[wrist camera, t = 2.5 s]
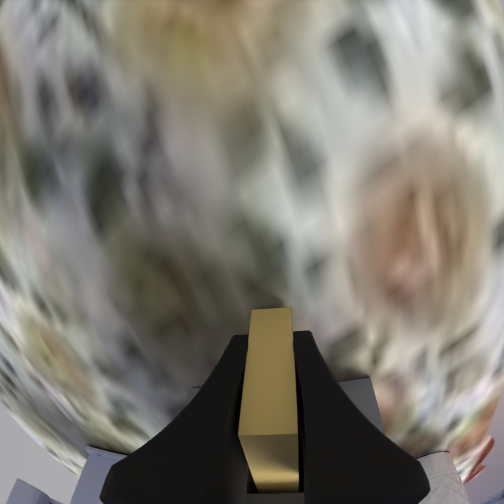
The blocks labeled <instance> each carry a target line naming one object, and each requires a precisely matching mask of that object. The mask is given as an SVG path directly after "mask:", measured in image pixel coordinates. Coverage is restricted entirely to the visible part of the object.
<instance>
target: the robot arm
mask: <svg viewBox="0 0 504 504" xmlns="http://www.w3.org/2000/svg"><path fill="white" fill-rule="evenodd" d="M248 339H249V335H234V336H233V337H232V338H231V340H230V342H229V344H228V346H227V348H226V350H225V352H224V353H223V355H222V357H221V359H220V360H219V362H218V364H217V365H216V367H215V368H214V370H213V371H212V373H211V375H210V376H209V378H208V379H207V380H206V382H205V383H204V384H203V386H202V387H201V389H200V390H199V391H198V393H197V394H196V395H195V396H194V398H193V399H192V400H191V401H190V402H189V404H188V405H187V406H186V407H185V408H184V409H183V410H182V411H181V413H180V414H179V415H178V416H177V417H176V418H175V419H174V420H173V421H171V422H170V423H169V424H168V425H167V426H166V427H165V428H164V429H163V430H162V431H161V432H159V433H158V434H157V435H156V436H155V437H153V438H152V439H151V440H149V441H148V442H147V443H146V444H144V445H143V446H142V447H140V448H139V449H137V450H136V451H134V452H133V453H131V454H130V455H128V456H127V455H122V454H117V453H113V452H109V451H105V450H101V449H97V448H93V447H89V446H86V449H85V450H86V451H87V452H88V453H89V456H88V458H87V461H86V463H85V466H84V468H83V471H82V473H81V476H80V478H79V481H78V484H77V486H76V489H75V491H74V494H73V496H72V499H71V503H70V504H246V489H247V464H248V462H247V460H246V457H245V454H244V451H243V448H242V445H241V442H240V439H239V437H238V430H239V421H240V412H241V403H242V394H243V385H244V376H245V367H246V358H247V351H248V344H249V343H248ZM293 350H294V361H295V379H296V400H297V409H298V415H299V422H300V429H301V436H302V443H303V459H304V504H418V503H420V502H421V501H422V500H423V499H424V498H425V497H426V496H427V495H428V494H429V492H430V491H431V489H430V483H429V480H428V477H427V475H426V473H425V470H424V468H423V467H422V465H421V463H420V461H418V460H417V459H415V458H414V457H412V456H411V455H409V454H408V453H407V452H405V451H404V450H403V449H401V448H400V447H399V446H397V445H396V444H395V443H394V442H392V441H391V440H390V439H389V438H388V437H386V436H385V435H384V434H383V433H382V432H381V431H380V430H379V429H378V428H377V427H376V426H375V425H374V424H372V423H371V422H370V421H369V420H368V419H367V418H366V417H365V415H364V414H363V413H362V412H361V411H360V410H359V409H358V408H357V407H356V405H355V404H354V403H353V402H352V401H351V399H350V398H349V397H348V396H347V394H346V393H345V392H344V390H343V389H342V387H341V386H340V385H339V383H338V382H337V380H336V379H335V377H334V376H333V374H332V373H331V371H330V369H329V368H328V366H327V364H326V363H325V361H324V359H323V357H322V355H321V353H320V351H319V350H318V347H317V345H316V343H315V341H314V338H313V335H312V332H310V331H309V330H308V331H296V332H293ZM6 504H62V503H60V502H58V501H56V500H54V499H52V498H50V497H49V496H48V495H47V494H45V493H44V492H42V491H41V490H39V489H37V488H35V487H34V486H32V485H30V484H28V483H26V482H24V481H23V480H21V479H17V480H16V482H15V484H14V486H13V489H12V491H11V493H10V496H9V498H8V500H7V503H6ZM476 504H504V490H502V491H500V492H498V493H496V494H494V495H492V496H490V497H488V498H486V499H484V500H482V501H480V502H478V503H476Z"/></svg>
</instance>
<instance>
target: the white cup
mask: <svg viewBox="0 0 504 504" xmlns="http://www.w3.org/2000/svg"><path fill="white" fill-rule="evenodd" d="M417 460H418V461H420V463H421V465H422V467H423V468H424V470H425V473H426V475H427V477H428V480H429V483H430V489H431V491H430V492H429V494H428V495H427V496H426V497H425V498H424V499H423V500H422V501H421V502H420V503H418V504H470V502H469V499H468V496H467V493H466V491H465V488H464V485H463V483H462V481H461V478H460V476H459V475H458V474H457V470H456V467H455V465H454V462H453V459H452V457H451V454H450V453H447V452H438V453H433V454H429V455H426V456H423V457H420V458H418V459H417Z"/></svg>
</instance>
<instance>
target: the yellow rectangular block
mask: <svg viewBox="0 0 504 504" xmlns="http://www.w3.org/2000/svg"><path fill="white" fill-rule="evenodd" d="M248 343H249V344H248V351H247V358H246V367H245V376H244V385H243V394H242V403H241V412H240V421H239V430H238V437H239V439H240V442H241V445H242V448H243V451H244V454H245V457H246V460H247V462H248V465H249V468H250V471H251V473H252V476H253V479H254V481H255V484H256V487H257V489H258V492H259V494H283V493H299V471H298V423H297V400H296V379H295V361H294V350H293V329H292V315H291V307H284V308H271V309H256V310H252V311H251V320H250V330H249V339H248Z"/></svg>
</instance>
